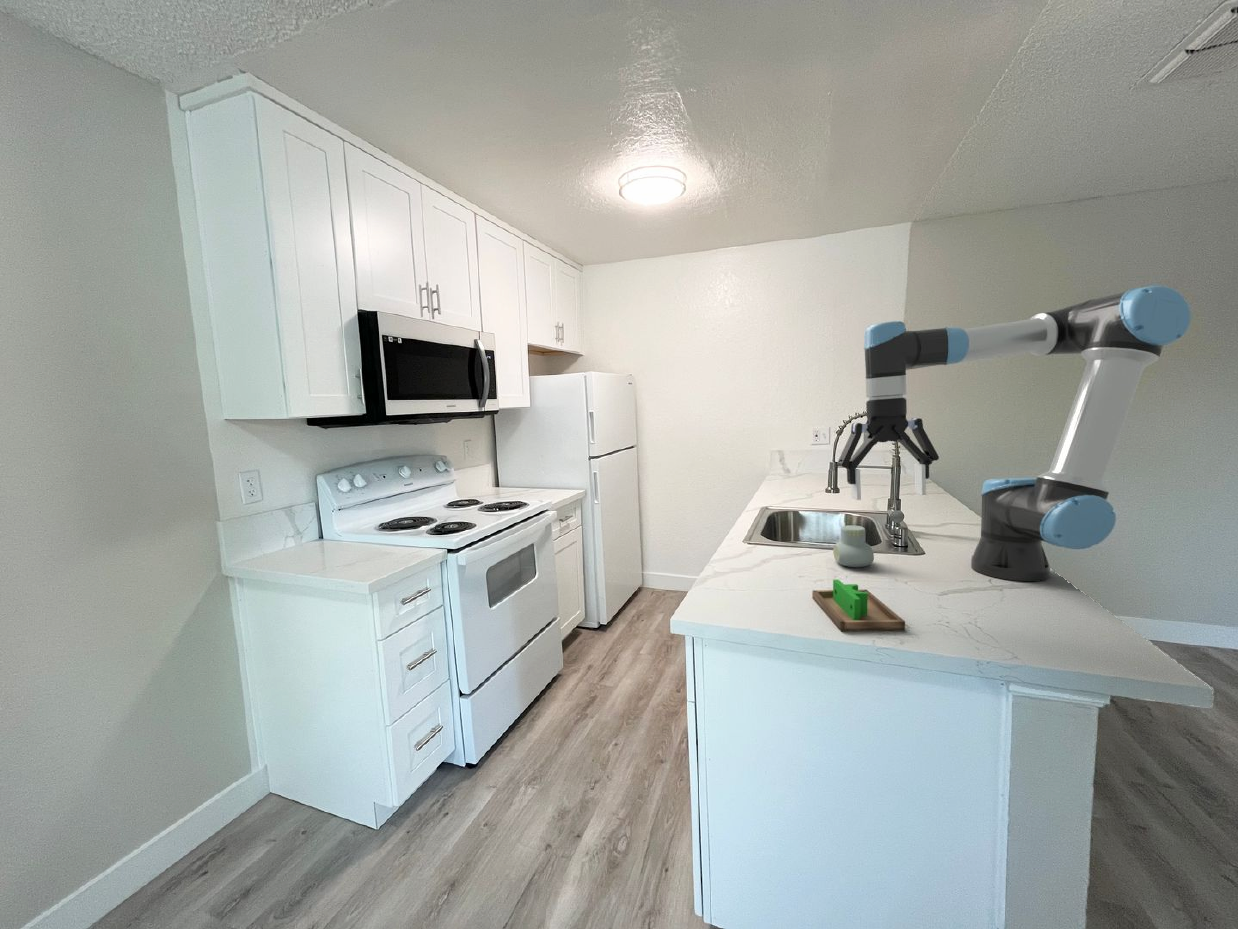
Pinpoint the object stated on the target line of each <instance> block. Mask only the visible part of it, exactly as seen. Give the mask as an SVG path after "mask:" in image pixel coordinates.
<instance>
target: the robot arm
mask: <svg viewBox="0 0 1238 929" xmlns="http://www.w3.org/2000/svg"><path fill="white" fill-rule="evenodd" d="M1189 304H1190V303H1188V301H1186V300H1185V297H1184V296H1183V294H1181V293H1180V292H1179V291H1178V290H1176V289H1174V288H1171V287H1169V286H1164V285H1151V286H1143V287H1135V288H1132V289H1129V290H1127V291H1123V292H1120V293H1115V294H1109V295H1107V296H1103V297H1102V296H1101V297H1098V298H1094V299H1093V298H1092V299H1089V300H1086V301H1083V302H1079V303H1076V304H1073V305H1069V306H1066V307H1064V308H1060V309H1056V310H1053V311H1052V310H1051V311H1048V312H1042V313H1037V314H1034V315H1033V316H1032V317H1030V318H1029V319H1024V320H1018V321H1011V322H1009V321H1008V322H1003V323H997V324H990V325H989V324H988V325H984V326H983V325H981V326H976V327H970V328H961V327H947V326H946V327H942V328H941V327H940V328H932V329H921V330H907V329H906V325H905V324H906V323H904V322H903V321H895V320H894V321H885V322H878V323H875V324H871V325H869V326H868V327H867V328H866V329H865V333H864V344H863V345H864V346H863V350H864V360H865V363H864V366H865V396H866V398H868V400H866V402H865V404H866V407H865V408H866V422H865V423H861V422H853V423H852V424H851V428H850V429H851V430H850V435H849V437H848V438H847V441H846V444H845V446H844V447H843V450H842V452H841V454H840V456H839V458H838V461H837V466H838V467H842V468H845V469H846V480H847V481H846V482H847V484H849V485H851V486H850V487H851V499H854V500H857V501H861V500H862V496H861V495H862V493H861V491H862V490H861V487H862V486H861V469H860V468H858V467H859V465H860V464H861V463H862V461H863V460H864V458H865V457H866V456H867V455H868V453H869V452H870V451H871V450H872V449H873V447H874V446H875V445H877V444H878V443H887V442H899V444H901V445H902V446H903V447H904V449H905V450H907V451H908V452H909V454H911V456H912V457H914V458H915V460H916V461H917V463H914V494H916V495H919V496H927V495H926V494H927V491H926V489H927V488H926V486H927V485H926V480H927V479H929V478H930V465H932V464H933V462H934V461H938V460H939V458H940V456H939V455H938V453H937V451H936V449H935V447H934V446H933V444H932V442H931V440H930V438H929V436H928V434H927V432H926V430H925V429H924V423H923V419H922V418H919V417H917V418H916V417H912V418H911V419H907V409H908V408H907V407H908V406H907V403H908V402H907V398H906V397H904V396H905V395H906V394H907V370H908V371H909V370H916V369H923V368H928V367H934V366H935V367H936V366H948V365H954V364H959V363H965V362H972V361H978V360H979V361H980V360H987V359H994V358H1001V357H1009V356H1016V355H1022V354H1029V353H1030V354H1031V355H1034V356H1037V357H1040V356H1049V355H1064V354H1065V355H1066V354H1068V355H1071V354H1077V355H1078V354H1080V355H1081V356H1082V358H1083V359H1084V360H1085V361H1086V366H1085V369H1084V371H1083V374H1082V377H1081V380H1080V382H1079V385H1078V388H1077V391H1076V394H1075V397H1074V399H1073V402H1072V405H1071V408H1070V411H1069V414H1068V416H1067V420H1066V422H1065V426H1064V427H1063V430H1062V433H1061V436H1060V439H1059V443H1058V445H1057V448H1056V451H1055V453H1054V456H1053V459H1052V462H1051V465H1050V468H1049V470H1048V471H1046V472H1044V473H1041V474H1039V475H1037V477H1022V478H1021V477H1019V478H1018V477H1017V478H1016V477H1015V478H1013V477H1012V478H1009V477H1008V478H991V479H986V480H985V481H984V482H983V484H982V490H981V511H980V512H981V513H980V514H981V517H980V537H979V541H978V543H977V545H976V547H975V549H974V552H973V555H972V556H971V559H970V560H971V561H970V562H971V563H970V568H971V569H972V570H974V571H976V572H977V573H979V574H982V575H986V576H989V577H993V578H996V579H997V578H999V579H1003V580H1009V581H1016V582H1018V581H1019V582H1041V581H1040V580H1042V581H1046V580H1048V579H1050V578H1051V577H1050V576H1051V567H1050V566H1051V565H1050V564H1049V561H1048V559H1047V556H1046V553H1045V549H1044V547H1043V545H1042V544H1043V543H1042V542H1044V543H1048V544H1049V545H1052V546H1056V547H1061V548H1064V549H1065V548H1066V549H1069V550H1085V549H1090V548H1091V547H1092V546H1096V545H1098V544H1100V543H1101V542H1103V541H1104V540H1106V539H1107V538H1108V536H1110V534H1111V533H1112V532H1113V529H1114V527H1115V524H1116V520H1117V514H1116V512H1114V506H1113V505H1112V504H1111V503H1110V502H1109V501H1108V500H1107V499H1108V496H1109V494H1110V490H1109V488H1108V487H1107V485H1105V483H1104V478H1105V475H1106V472H1107V470H1108V467H1109V464H1110V461H1111V459H1112V457H1113V454H1114V452H1115V448H1116V445H1117V443H1118V441H1119V437H1120V435H1121V433H1122V429H1123V426H1124V424H1125V421H1126V418H1127V416H1128V413H1129V411H1130V408H1131V405H1132V402H1133V398H1134V396H1135V394H1136V391H1137V388H1138V386H1139V383H1140V380H1141V378H1142V374H1143V372H1144V369H1145V368H1146V367H1147V366H1149V365H1151V364H1153V363H1156V362H1158V360H1159V359H1160V356H1161V353H1162V351H1163V348H1164V346H1167V345H1169V344H1171V343H1174V342H1176V341H1177V340H1179V339H1181V338H1182V337H1183V336H1184V335H1185V334H1186V333H1187V331H1188V329H1189V327H1190V324H1191V319H1192V318H1191V317H1192V312H1191V308H1190V305H1189ZM907 428H909V429H910V430H911V432H912V435H913V436H914V437H915V439H916V441H917V443H918V445H919V446H918V445H917V444H916V443H915V442H914V441H913V440H912V439H911V437H910V435H909V434H908V433H906V432H905V431H906V430H907ZM865 430H866V431H867V432H868V434H867V436H866V437H865V438H864V440H863V442H862V444H860V446H859V447H858V449H856V448H857V446H858V443H859V441H860V440H861V437H862V434H864V432H865ZM920 448H921V449H920ZM855 450H856V451H855ZM854 452H855V453H854ZM1047 578H1048V579H1047ZM1045 579H1046V580H1045Z"/></svg>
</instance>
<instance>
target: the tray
mask: <svg viewBox="0 0 1238 929" xmlns="http://www.w3.org/2000/svg"><path fill="white" fill-rule="evenodd" d="M811 591H812V593H811V594H812V600H813V601H814V603H816V604H817V605H818V607H819V608H820V609H821V610H822V611H823V613H825V616H827V618H829V619H830V621H831V622H832V623H833V624H834V625H835V626H836V628H837V629H838V630H839V631H840V632H904V631H906V620H904V619H903V618H901V616H899V615H898V614H897V613H895V612H894V611H893V610H892V609H891V608H889V607H888V605H886V604H885V603H883V602H882V600H880V599H879V598H878V597H876V596H875V595H874V594H872V592H870V591H869V590H868V589H858V591H860V592H867V593H868V603H867V615H860V620H852V619H851V618H850V617H849V616H848V614H847V613H846V612H845V611H844V610H843V609H842V608H841V607H840V606H839V605H838V604H837V603H836V602H835V601H834V600H833V589H826V590H825V589H822V590H818V589H817V590H814V589H813V590H811Z"/></svg>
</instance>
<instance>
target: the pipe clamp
mask: <svg viewBox="0 0 1238 929" xmlns="http://www.w3.org/2000/svg"><path fill="white" fill-rule="evenodd" d="M832 583H833V584H832V590H833V600H834V601H835V602H836V603H837V604H838V605H839V606H840V607H841V608H842V609H843V610H844V611H845V612H846V613H847V614H848V616H849V617H850V618H851V619H852V620H860V615H867V603H868V593H867V592H860V591H858V590H859V585H858V584H857V583H853V584H852V583H851V584H849V583H848V584H845V583H843V582H842V581H841V580H840V579H832Z"/></svg>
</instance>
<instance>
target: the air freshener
mask: <svg viewBox="0 0 1238 929" xmlns="http://www.w3.org/2000/svg"><path fill="white" fill-rule="evenodd" d="M832 551H833V558H834V560H835V562H836V563H838V564H840V565H841V566H844V567H847V566H848V568H864V567H867V566H869V565H871V564H872V563H874V560H875V554H874V551H873V549H872V546H871V545H870V544H868V543H866V528H865V527H864V526H861V525H854V524H853V525H842V526H841V527H840V541H839V542H836V543H835V544H833V549H832Z"/></svg>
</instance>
